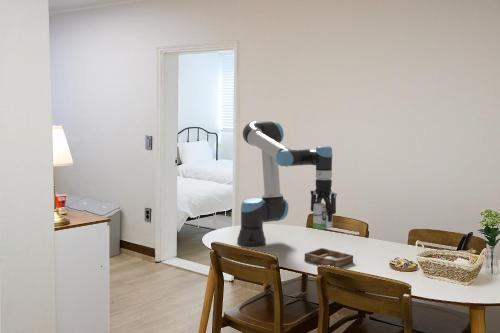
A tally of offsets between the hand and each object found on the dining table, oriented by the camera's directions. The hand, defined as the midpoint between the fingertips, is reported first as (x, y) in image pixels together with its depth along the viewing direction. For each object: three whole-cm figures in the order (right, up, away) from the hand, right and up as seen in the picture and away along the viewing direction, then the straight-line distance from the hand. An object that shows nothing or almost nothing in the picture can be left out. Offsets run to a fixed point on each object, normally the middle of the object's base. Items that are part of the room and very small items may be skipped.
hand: (322, 227), depth 251 cm
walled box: (+3, -16, -1) cm, 16 cm away
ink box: (0, -1, 0) cm, 1 cm away
